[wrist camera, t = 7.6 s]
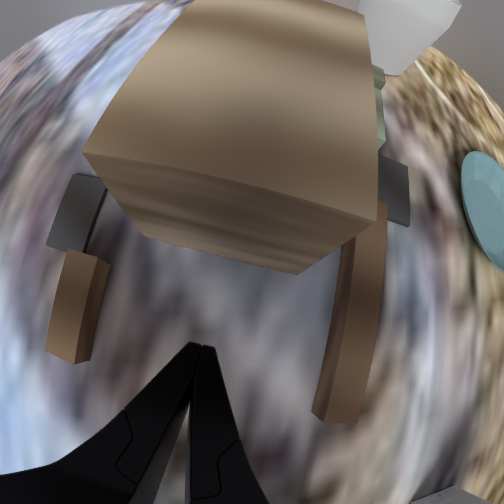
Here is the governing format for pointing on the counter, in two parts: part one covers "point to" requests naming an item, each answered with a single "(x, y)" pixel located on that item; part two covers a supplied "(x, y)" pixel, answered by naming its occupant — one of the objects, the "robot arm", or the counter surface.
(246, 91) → the walnut block
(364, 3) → the cup
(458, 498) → the small box
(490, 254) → the saucer
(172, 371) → the robot arm
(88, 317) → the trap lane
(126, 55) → the counter surface
